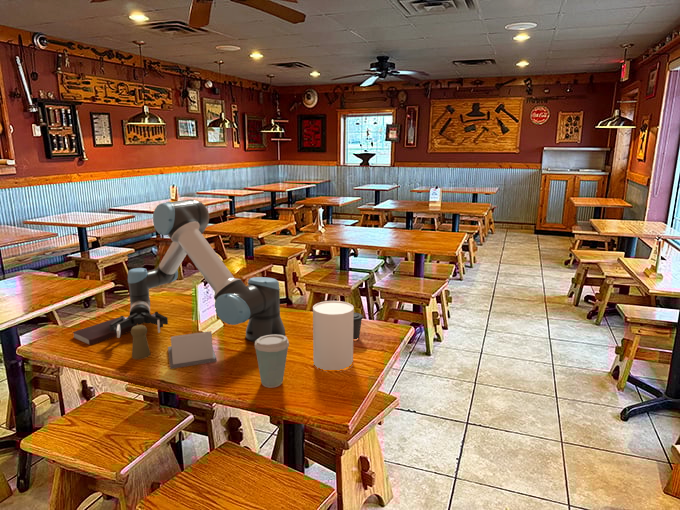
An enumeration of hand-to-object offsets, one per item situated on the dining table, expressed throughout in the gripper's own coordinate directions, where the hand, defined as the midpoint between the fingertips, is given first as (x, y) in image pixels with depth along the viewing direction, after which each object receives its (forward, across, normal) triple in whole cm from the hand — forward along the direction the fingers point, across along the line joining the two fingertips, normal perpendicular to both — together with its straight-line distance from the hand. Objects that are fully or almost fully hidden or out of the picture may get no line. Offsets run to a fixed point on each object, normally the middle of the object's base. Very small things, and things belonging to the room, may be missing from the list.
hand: (138, 331), depth 167 cm
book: (-20, +13, -7) cm, 25 cm away
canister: (+36, -62, -7) cm, 72 cm away
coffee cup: (+20, -76, -7) cm, 79 cm away
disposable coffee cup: (+42, -39, -7) cm, 58 cm away
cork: (+7, 0, -7) cm, 9 cm away
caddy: (+12, -17, -6) cm, 22 cm away
